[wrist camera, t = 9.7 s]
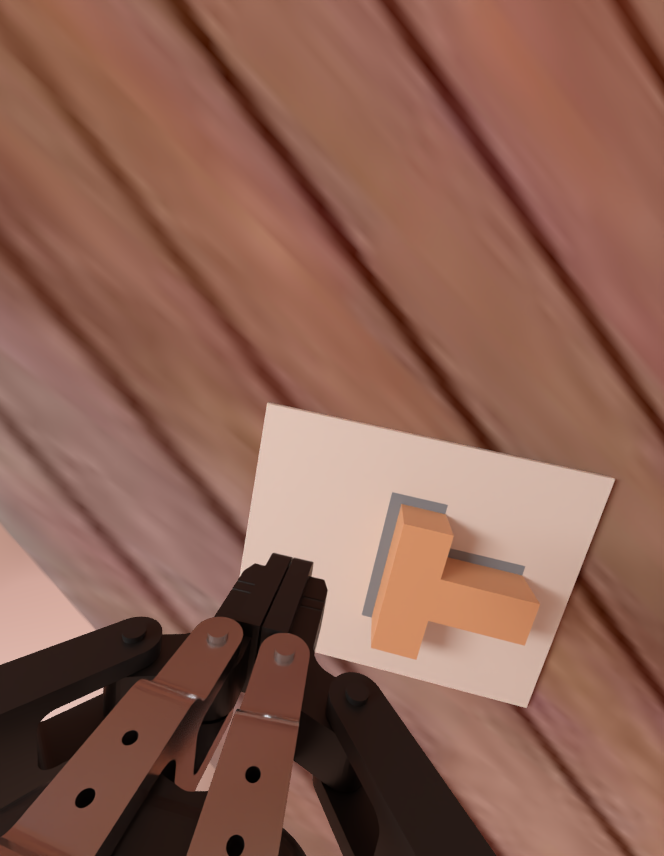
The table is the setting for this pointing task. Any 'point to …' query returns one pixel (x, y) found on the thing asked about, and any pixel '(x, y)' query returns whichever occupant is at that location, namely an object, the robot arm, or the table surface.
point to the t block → (443, 590)
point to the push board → (375, 523)
